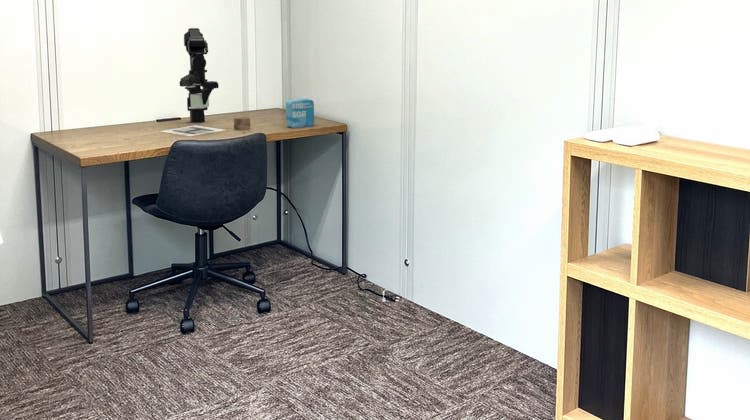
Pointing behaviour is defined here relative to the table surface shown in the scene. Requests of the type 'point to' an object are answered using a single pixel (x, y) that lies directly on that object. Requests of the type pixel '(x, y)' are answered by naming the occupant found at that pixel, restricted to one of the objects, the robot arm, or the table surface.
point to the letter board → (192, 130)
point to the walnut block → (242, 123)
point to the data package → (300, 113)
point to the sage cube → (198, 101)
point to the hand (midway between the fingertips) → (199, 104)
